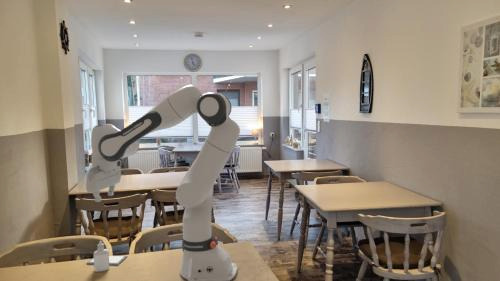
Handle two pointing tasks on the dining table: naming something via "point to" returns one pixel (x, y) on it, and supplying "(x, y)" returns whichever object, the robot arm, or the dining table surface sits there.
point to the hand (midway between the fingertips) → (104, 198)
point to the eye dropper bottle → (101, 258)
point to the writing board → (110, 263)
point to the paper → (113, 259)
